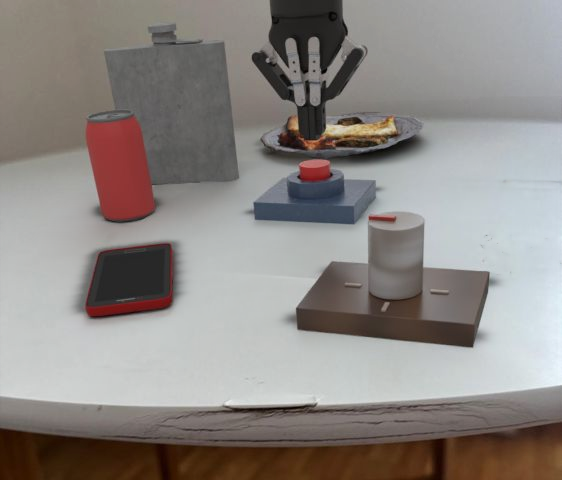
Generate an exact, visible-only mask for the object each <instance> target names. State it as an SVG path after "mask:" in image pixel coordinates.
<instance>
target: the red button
mask: <svg viewBox="0 0 562 480" xmlns="http://www.w3.org/2000/svg"><path fill="white" fill-rule="evenodd" d="M330 168H331V162H330V161H329V160H327V159H322V158H317V159H315V158H314V159H307V160H304V161H301V162H300V163H299V164H298V171H299V173H300V180H304V181H317V180H324V179H327V178H330V177H331V173H330Z"/></svg>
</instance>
